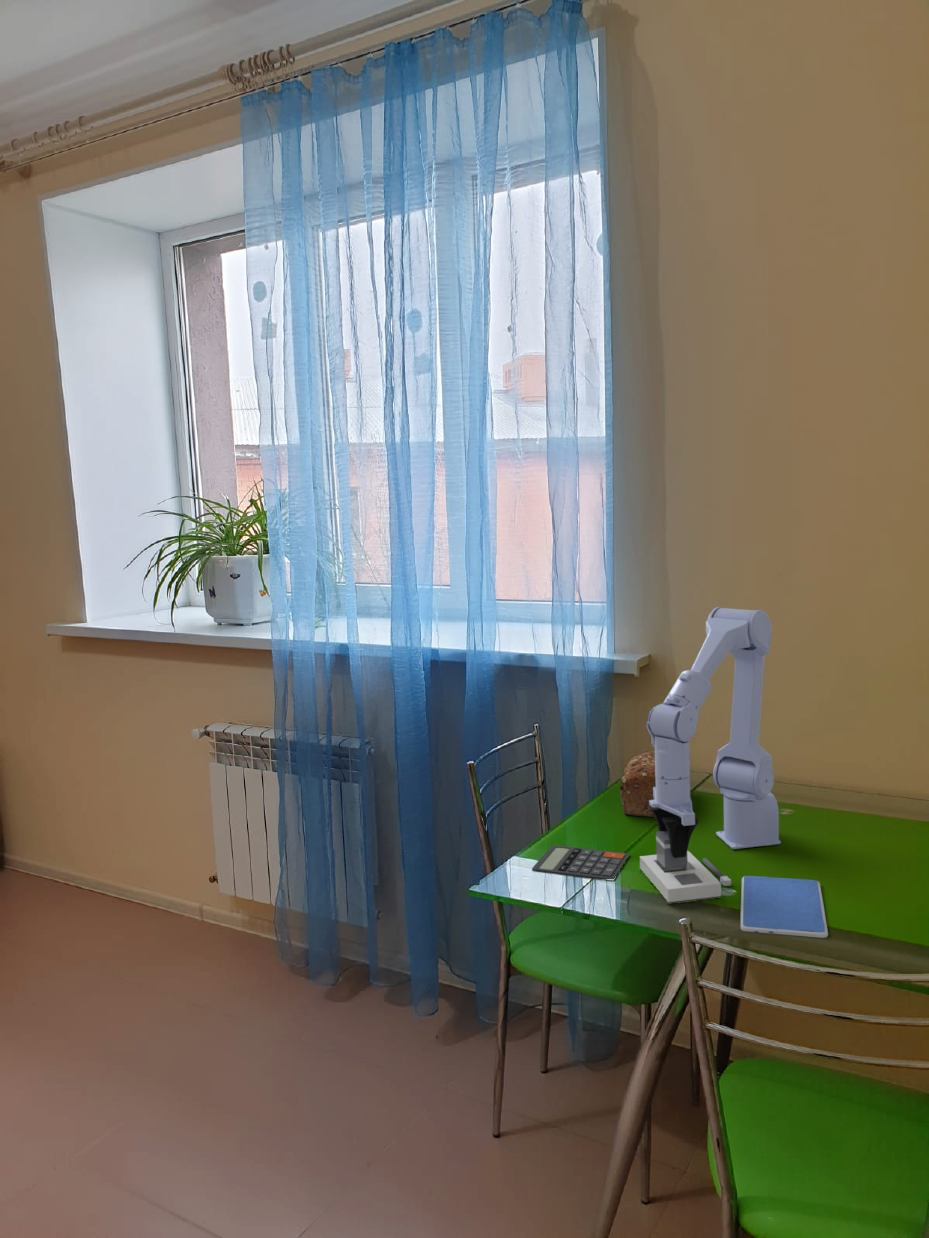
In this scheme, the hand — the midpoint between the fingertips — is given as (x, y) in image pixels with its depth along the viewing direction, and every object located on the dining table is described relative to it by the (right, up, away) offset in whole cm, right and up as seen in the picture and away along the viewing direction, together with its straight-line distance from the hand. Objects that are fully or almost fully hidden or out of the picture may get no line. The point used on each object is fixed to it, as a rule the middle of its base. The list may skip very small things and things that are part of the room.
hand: (674, 851), depth 164 cm
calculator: (-15, -5, +10) cm, 18 cm away
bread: (+4, +1, +39) cm, 39 cm away
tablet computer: (+15, -7, -11) cm, 20 cm away
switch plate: (+1, -5, -1) cm, 5 cm away
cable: (+8, -4, +3) cm, 9 cm away
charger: (0, -2, 0) cm, 2 cm away
